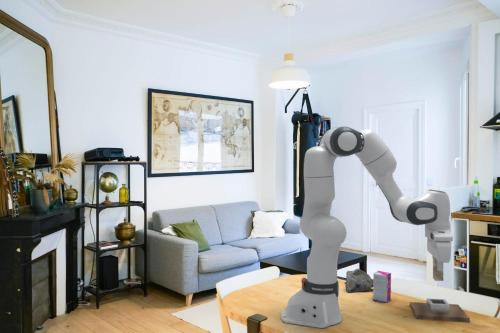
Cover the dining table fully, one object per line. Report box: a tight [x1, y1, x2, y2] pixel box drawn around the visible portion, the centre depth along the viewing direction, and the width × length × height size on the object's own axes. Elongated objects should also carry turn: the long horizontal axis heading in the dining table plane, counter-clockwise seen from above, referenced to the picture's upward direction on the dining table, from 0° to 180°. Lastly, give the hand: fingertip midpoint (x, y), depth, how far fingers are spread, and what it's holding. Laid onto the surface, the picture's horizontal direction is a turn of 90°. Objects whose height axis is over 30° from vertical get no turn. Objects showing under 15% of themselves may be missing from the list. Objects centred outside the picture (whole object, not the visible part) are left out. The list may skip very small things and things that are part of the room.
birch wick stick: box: [432, 256, 444, 282], centre depth 156 cm, size 3×3×10 cm
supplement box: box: [372, 270, 392, 304], centre depth 171 cm, size 6×6×12 cm
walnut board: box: [409, 301, 471, 323], centre depth 156 cm, size 18×14×2 cm
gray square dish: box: [426, 297, 450, 313], centre depth 156 cm, size 7×7×3 cm
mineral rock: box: [345, 268, 373, 293], centre depth 184 cm, size 13×11×10 cm
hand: (437, 268), depth 156 cm, fingers closed on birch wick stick, 3 cm apart
